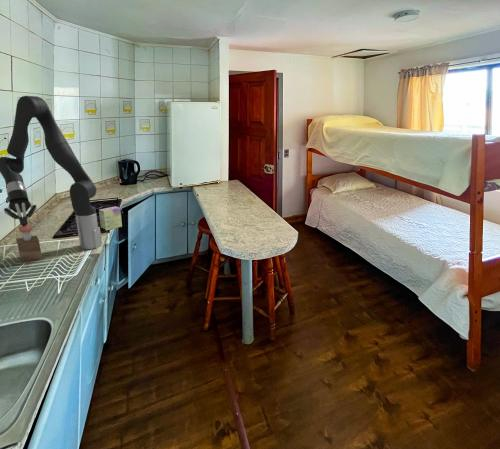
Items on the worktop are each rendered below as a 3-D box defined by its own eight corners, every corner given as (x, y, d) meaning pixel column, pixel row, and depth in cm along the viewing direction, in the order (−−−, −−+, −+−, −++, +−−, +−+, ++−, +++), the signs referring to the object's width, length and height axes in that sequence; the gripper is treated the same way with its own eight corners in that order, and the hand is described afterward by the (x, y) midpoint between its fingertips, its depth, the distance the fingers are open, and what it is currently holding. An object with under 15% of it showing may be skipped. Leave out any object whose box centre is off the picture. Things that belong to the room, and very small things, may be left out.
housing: (20, 256, 156) (16, 238, 154) (40, 253, 161) (36, 235, 158) (21, 262, 150) (17, 243, 148) (42, 258, 155) (38, 240, 152)
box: (117, 224, 205) (115, 206, 201) (122, 226, 201) (120, 207, 198) (100, 228, 197) (98, 209, 193) (105, 230, 194) (103, 211, 190)
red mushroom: (21, 246, 155) (17, 226, 152) (34, 244, 157) (30, 224, 155) (22, 249, 151) (18, 229, 148) (35, 247, 154) (32, 227, 151)
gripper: (-2, 190, 150) (5, 223, 144) (33, 187, 157) (41, 218, 152) (0, 199, 155) (7, 232, 150) (34, 196, 163) (41, 226, 158)
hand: (24, 225), depth 151 cm, fingers closed
